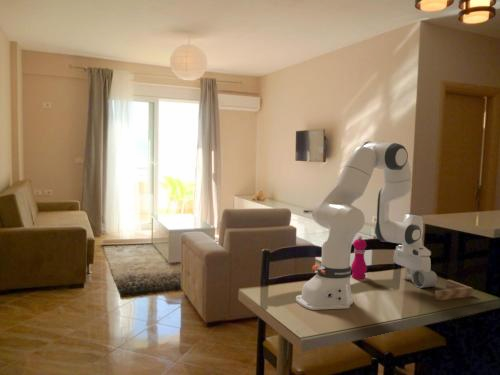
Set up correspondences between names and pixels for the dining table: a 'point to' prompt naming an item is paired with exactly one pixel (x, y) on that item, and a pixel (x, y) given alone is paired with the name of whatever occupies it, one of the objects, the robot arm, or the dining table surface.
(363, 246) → the pepper mill
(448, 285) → the walnut stop
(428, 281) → the ceramic mug
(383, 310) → the dining table surface
